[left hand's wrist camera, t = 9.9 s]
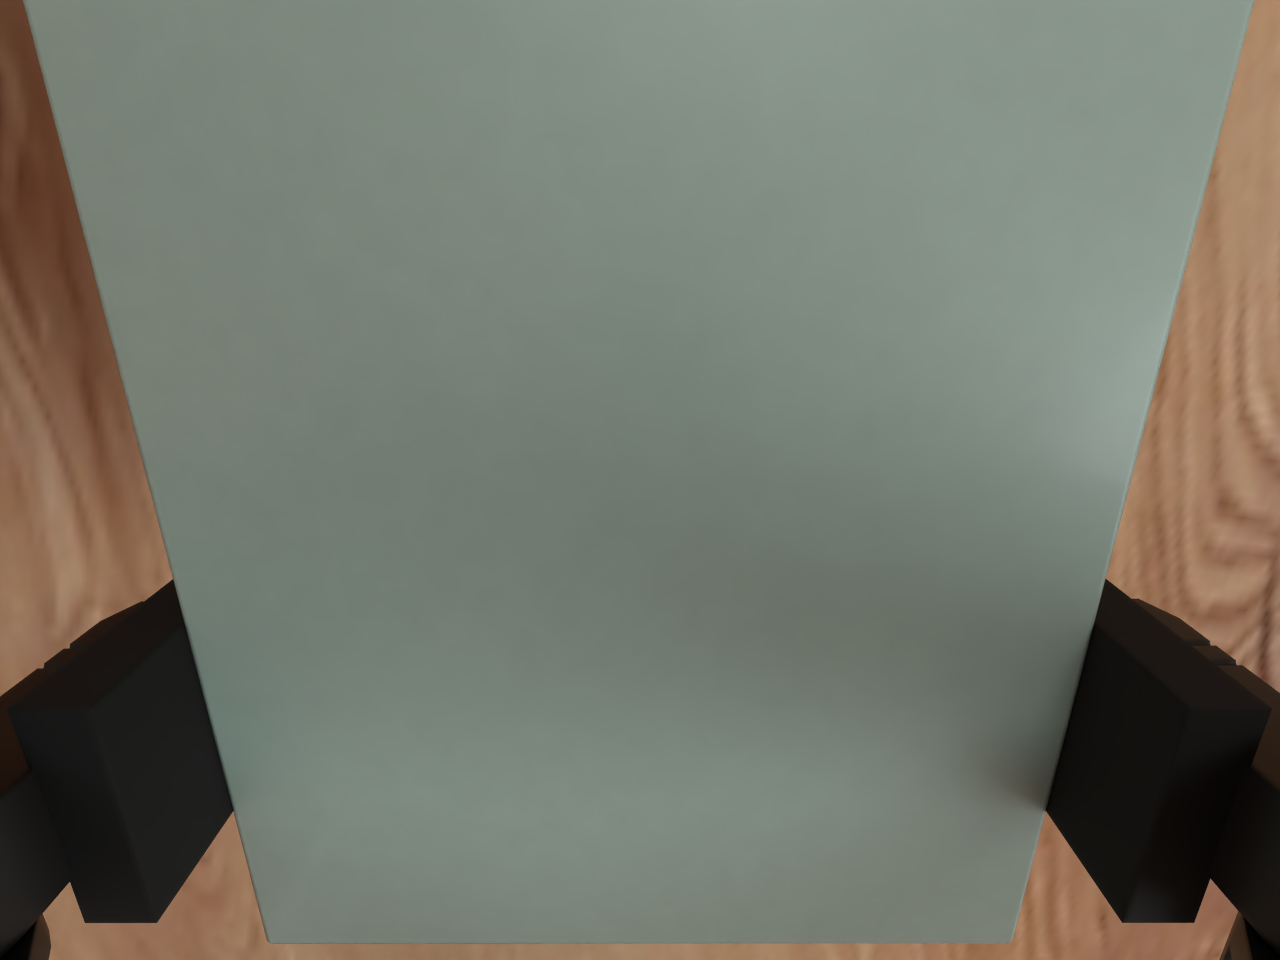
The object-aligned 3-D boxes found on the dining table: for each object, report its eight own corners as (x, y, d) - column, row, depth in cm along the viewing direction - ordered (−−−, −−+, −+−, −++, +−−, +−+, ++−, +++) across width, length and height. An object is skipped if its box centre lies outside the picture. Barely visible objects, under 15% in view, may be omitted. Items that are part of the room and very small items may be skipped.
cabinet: (380, -228, 14) (-376, -1497, 4) (897, -228, 14) (1647, -1499, 4) (459, 563, 20) (265, 947, 10) (820, 562, 20) (1014, 946, 10)
